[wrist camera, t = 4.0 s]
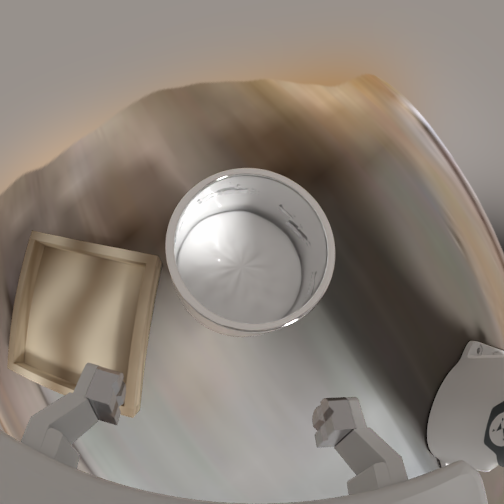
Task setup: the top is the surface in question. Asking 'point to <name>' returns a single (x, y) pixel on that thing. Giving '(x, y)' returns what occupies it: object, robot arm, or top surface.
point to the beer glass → (249, 252)
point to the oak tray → (82, 313)
